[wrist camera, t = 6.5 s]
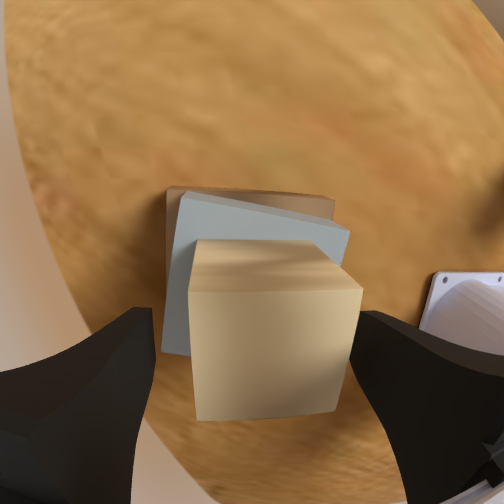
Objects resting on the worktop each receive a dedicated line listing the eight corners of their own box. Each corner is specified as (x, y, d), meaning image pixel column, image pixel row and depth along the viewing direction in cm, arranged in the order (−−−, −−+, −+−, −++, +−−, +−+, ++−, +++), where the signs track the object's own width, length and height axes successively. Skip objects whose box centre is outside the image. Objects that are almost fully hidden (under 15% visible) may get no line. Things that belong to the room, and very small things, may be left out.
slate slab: (330, 219, 15) (350, 231, 13) (294, 342, 17) (305, 368, 15) (186, 190, 14) (181, 197, 12) (167, 325, 16) (160, 351, 13)
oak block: (310, 240, 13) (363, 288, 8) (299, 336, 14) (335, 411, 9) (197, 239, 12) (187, 291, 7) (199, 338, 13) (196, 420, 9)
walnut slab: (319, 194, 17) (335, 200, 15) (301, 322, 20) (312, 342, 17) (173, 185, 16) (166, 189, 14) (173, 319, 18) (168, 341, 16)
